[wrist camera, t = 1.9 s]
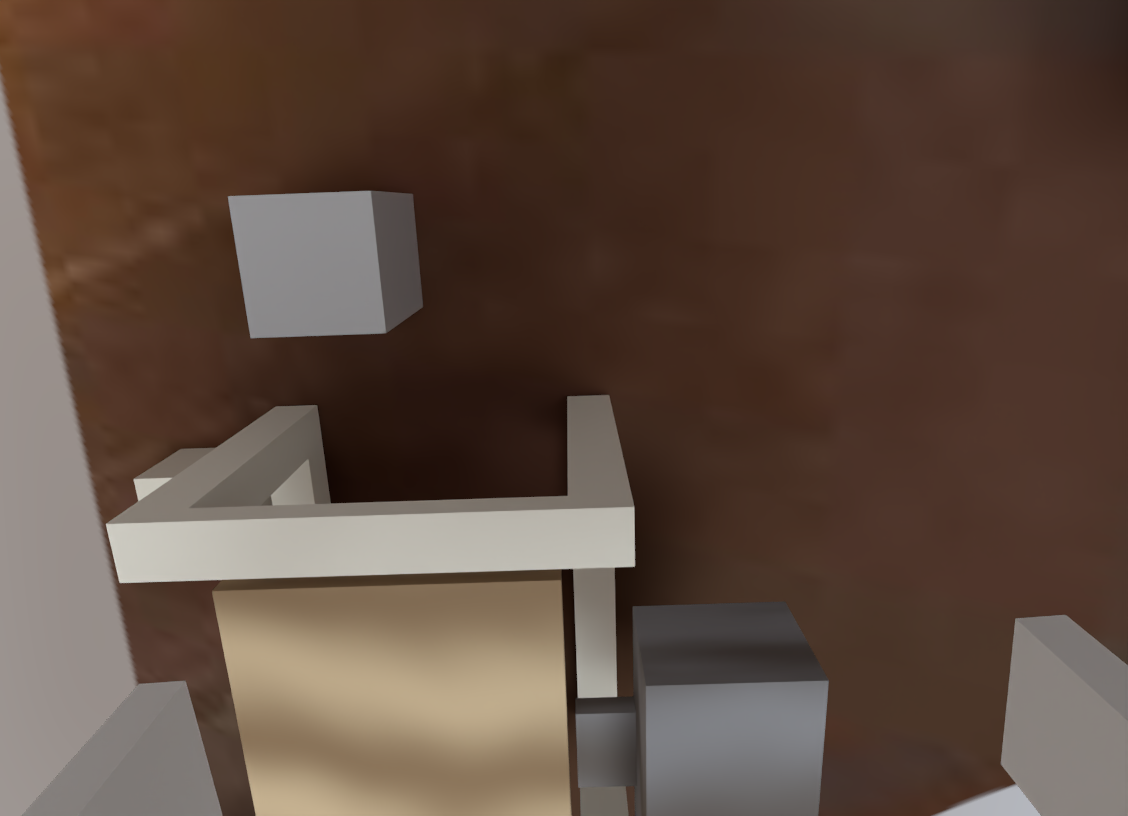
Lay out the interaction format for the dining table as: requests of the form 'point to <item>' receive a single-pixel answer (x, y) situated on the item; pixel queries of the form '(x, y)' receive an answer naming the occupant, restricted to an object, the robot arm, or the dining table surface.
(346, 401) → the dining table surface
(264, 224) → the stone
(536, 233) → the dining table surface
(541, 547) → the frame
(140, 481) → the pumice block
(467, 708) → the trapdoor
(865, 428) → the dining table surface
